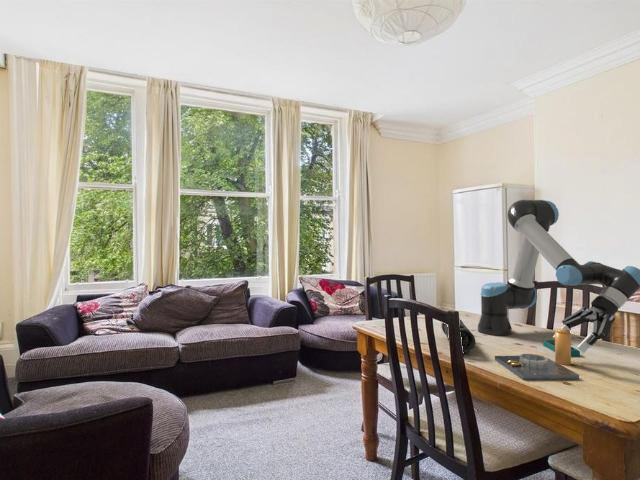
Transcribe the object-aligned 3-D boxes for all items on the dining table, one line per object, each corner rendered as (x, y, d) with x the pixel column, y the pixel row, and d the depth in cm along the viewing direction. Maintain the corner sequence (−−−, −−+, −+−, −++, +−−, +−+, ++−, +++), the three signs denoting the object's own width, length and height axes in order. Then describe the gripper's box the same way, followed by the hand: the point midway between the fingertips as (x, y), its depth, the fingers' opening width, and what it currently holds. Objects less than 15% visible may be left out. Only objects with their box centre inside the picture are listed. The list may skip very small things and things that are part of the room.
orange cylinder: (552, 360, 141) (552, 328, 141) (565, 360, 141) (565, 328, 141) (560, 365, 136) (560, 331, 136) (574, 365, 136) (573, 331, 136)
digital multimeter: (560, 346, 160) (560, 339, 160) (580, 357, 146) (580, 350, 146) (542, 346, 161) (542, 339, 161) (560, 357, 146) (560, 349, 146)
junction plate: (494, 359, 142) (494, 349, 142) (542, 359, 142) (542, 348, 142) (523, 379, 122) (522, 367, 122) (579, 379, 122) (578, 367, 122)
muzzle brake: (450, 354, 149) (450, 328, 149) (440, 336, 177) (440, 314, 177) (476, 355, 148) (476, 329, 148) (462, 337, 175) (462, 314, 175)
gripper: (645, 316, 125) (600, 362, 125) (591, 303, 150) (553, 342, 150) (629, 300, 125) (584, 347, 125) (577, 290, 150) (539, 329, 150)
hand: (567, 344), depth 137 cm, fingers open, 13 cm apart
